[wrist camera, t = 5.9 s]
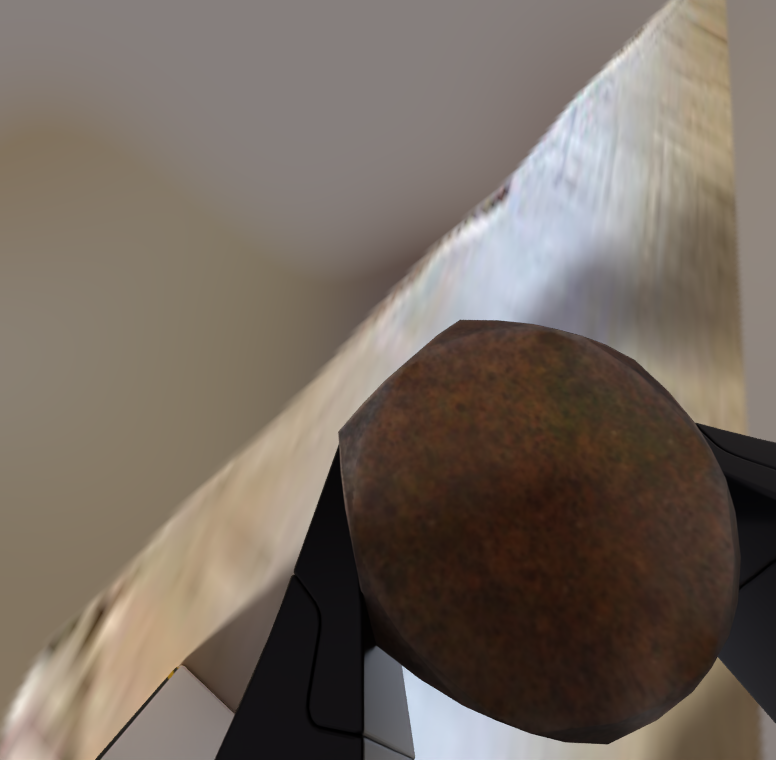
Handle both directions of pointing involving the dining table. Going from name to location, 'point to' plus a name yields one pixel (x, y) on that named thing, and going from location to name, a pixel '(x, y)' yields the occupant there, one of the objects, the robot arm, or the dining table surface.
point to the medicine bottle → (173, 723)
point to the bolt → (540, 530)
